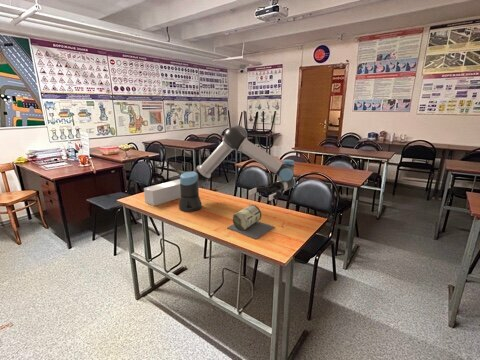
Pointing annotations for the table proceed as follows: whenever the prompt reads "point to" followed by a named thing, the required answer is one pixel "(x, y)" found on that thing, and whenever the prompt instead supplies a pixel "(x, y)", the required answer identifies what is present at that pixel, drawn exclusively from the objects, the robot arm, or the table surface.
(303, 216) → the table surface
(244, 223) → the coffee can
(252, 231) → the rubber mat
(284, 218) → the table surface
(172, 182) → the long grey foam block
